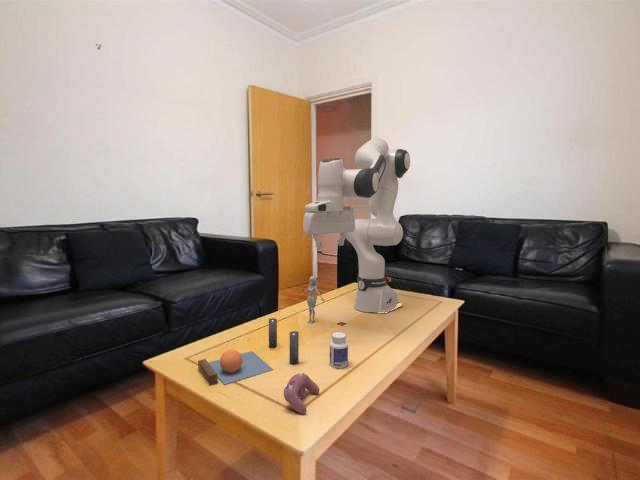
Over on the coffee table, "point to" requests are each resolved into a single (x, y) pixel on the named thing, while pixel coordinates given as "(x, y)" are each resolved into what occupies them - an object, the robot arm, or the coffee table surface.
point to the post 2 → (294, 347)
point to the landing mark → (242, 368)
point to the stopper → (207, 372)
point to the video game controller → (299, 391)
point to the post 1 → (272, 333)
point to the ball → (231, 361)
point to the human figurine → (312, 297)
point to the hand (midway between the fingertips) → (329, 246)
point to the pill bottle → (338, 350)
